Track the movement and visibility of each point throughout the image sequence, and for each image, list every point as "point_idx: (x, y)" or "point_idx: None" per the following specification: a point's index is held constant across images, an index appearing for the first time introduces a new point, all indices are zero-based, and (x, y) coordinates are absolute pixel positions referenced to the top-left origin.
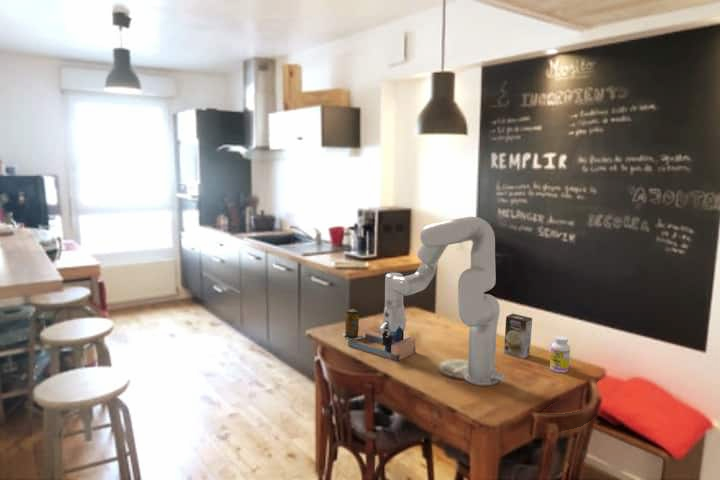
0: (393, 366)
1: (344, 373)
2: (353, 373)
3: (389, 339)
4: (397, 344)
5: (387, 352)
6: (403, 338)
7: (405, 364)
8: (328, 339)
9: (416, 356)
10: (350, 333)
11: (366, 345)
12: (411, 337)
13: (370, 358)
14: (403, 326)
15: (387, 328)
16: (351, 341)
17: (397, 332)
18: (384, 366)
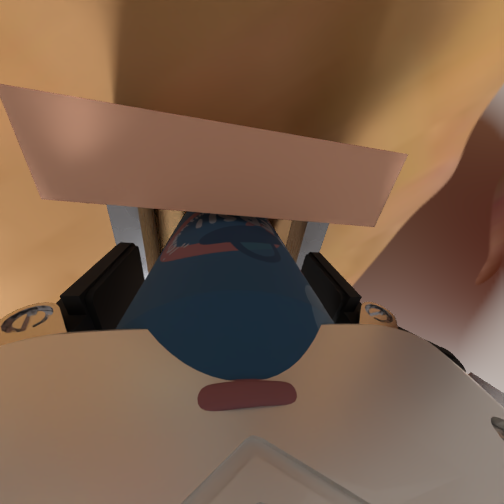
0: (409, 130)
1: (494, 263)
2: (496, 241)
3: (341, 283)
4: (344, 189)
5: (324, 233)
6: (113, 248)
7: (362, 66)
8: None
9: (178, 60)
10: None
11: None
12: (31, 168)
13: (340, 274)
14: (34, 367)
15: None
16: None
17: (302, 292)
18: (416, 176)
